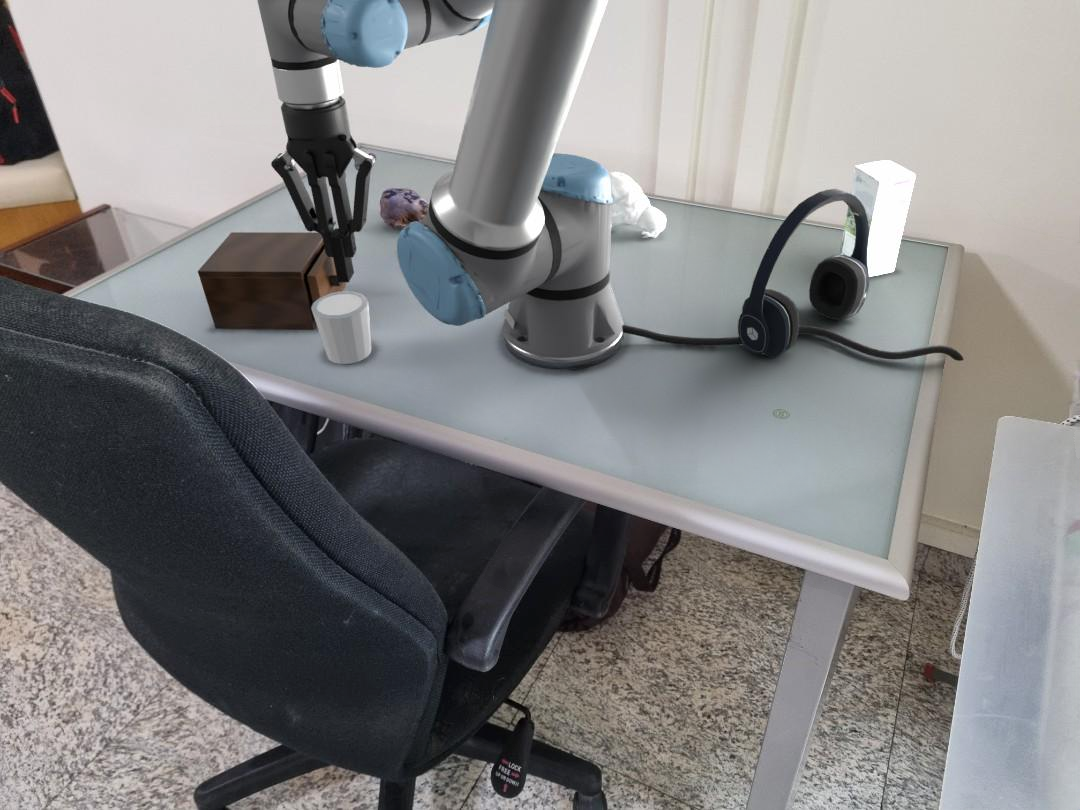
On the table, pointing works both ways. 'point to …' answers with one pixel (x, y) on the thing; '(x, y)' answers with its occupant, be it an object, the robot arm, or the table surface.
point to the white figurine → (633, 206)
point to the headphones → (832, 288)
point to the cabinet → (261, 280)
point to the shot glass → (344, 326)
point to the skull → (402, 207)
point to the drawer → (322, 277)
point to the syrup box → (880, 212)
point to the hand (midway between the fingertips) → (346, 277)
